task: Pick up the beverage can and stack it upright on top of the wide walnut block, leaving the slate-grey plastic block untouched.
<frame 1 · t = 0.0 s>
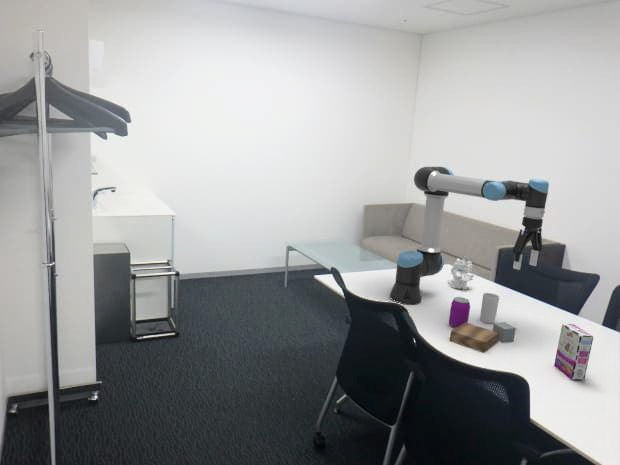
hand: (524, 267, 205), 28 cm above the table, fingers open, 13 cm apart
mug: (486, 319, 220), on the table
candy bar box: (568, 373, 174), on the table
silvery white figurine: (458, 286, 267), on the table
walnut block: (473, 341, 195), on the table
beverage can: (457, 326, 210), on the table
grey block: (502, 339, 199), on the table
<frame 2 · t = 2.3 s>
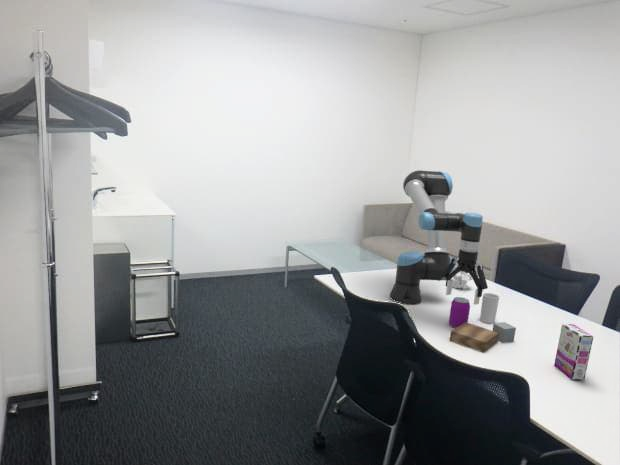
hand: (461, 299, 207), 12 cm above the table, fingers open, 13 cm apart
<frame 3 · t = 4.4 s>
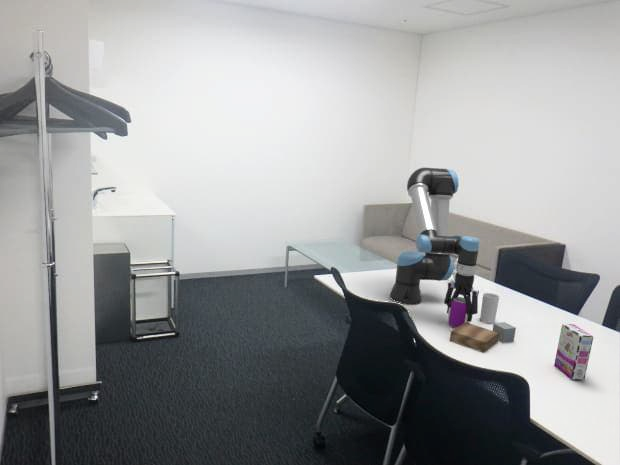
hand: (457, 324, 209), 1 cm above the table, fingers closed on beverage can, 8 cm apart
beverage can: (457, 326, 210), on the table, touching gripper
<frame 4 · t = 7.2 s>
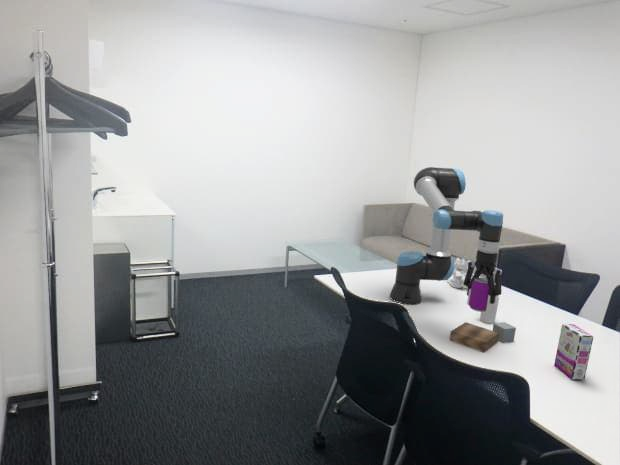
hand: (479, 307, 192), 14 cm above the table, fingers closed on beverage can, 8 cm apart
beverage can: (478, 309, 192), point 13 cm above the table, touching gripper
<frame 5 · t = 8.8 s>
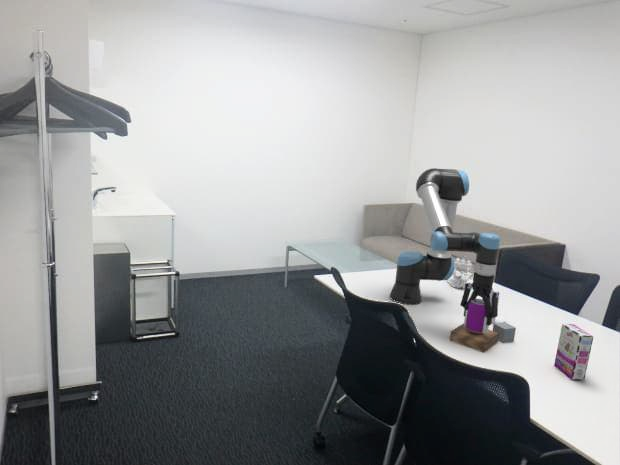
hand: (475, 328, 194), 5 cm above the table, fingers closed on beverage can, 8 cm apart
beverage can: (475, 330, 194), point 5 cm above the table, touching gripper
when the fingers open (5 cm above the table, at t = 10.1 s): beverage can stays where it is, resting on walnut block.
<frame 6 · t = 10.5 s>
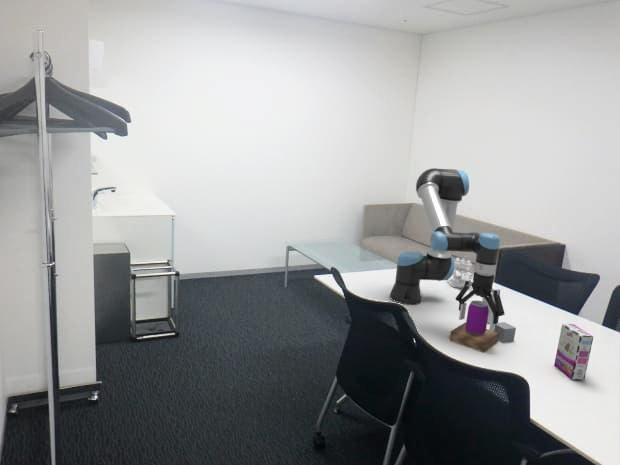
hand: (476, 324, 193), 7 cm above the table, fingers open, 13 cm apart
beverage can: (475, 332, 194), point 4 cm above the table, touching walnut block
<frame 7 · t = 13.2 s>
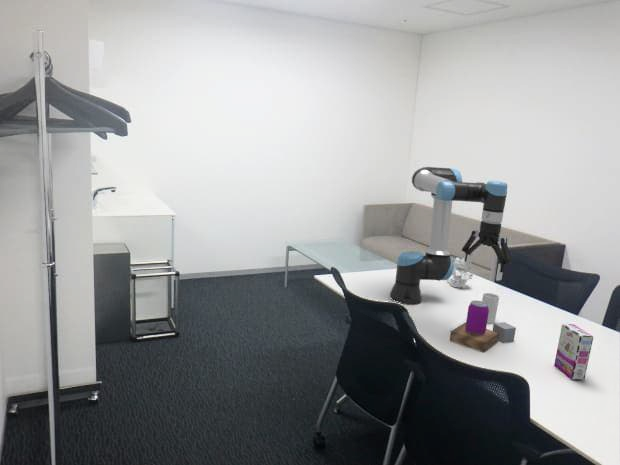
hand: (482, 275, 191), 27 cm above the table, fingers open, 13 cm apart
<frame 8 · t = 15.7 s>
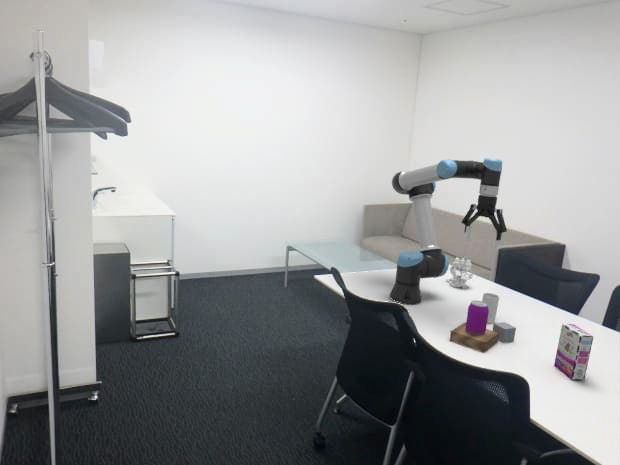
hand: (480, 244, 212), 35 cm above the table, fingers open, 13 cm apart
at the end: beverage can 0.1 cm from the walnut block (horizontally); beverage can point 3.8 cm above the table; beverage can tilted 0° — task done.
